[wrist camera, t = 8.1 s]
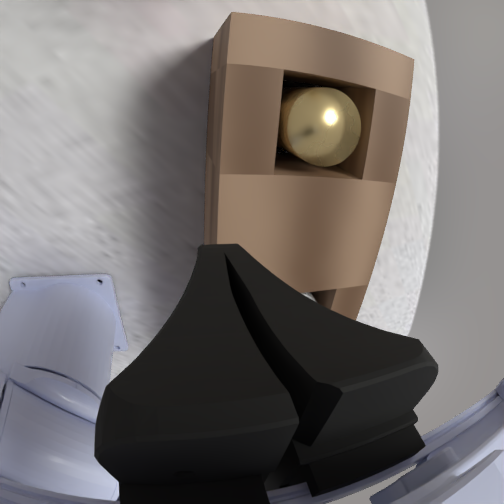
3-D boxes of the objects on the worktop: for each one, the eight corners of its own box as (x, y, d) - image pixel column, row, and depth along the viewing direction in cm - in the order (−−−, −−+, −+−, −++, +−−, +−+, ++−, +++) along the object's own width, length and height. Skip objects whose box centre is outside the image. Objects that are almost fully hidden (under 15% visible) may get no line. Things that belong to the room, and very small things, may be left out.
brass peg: (254, 145, 18) (283, 164, 14) (259, 84, 16) (292, 81, 12) (311, 148, 19) (354, 169, 15) (318, 92, 17) (365, 95, 13)
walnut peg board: (205, 325, 25) (216, 381, 20) (213, 37, 14) (231, 11, 9) (312, 313, 27) (340, 359, 22) (356, 61, 17) (414, 59, 12)
